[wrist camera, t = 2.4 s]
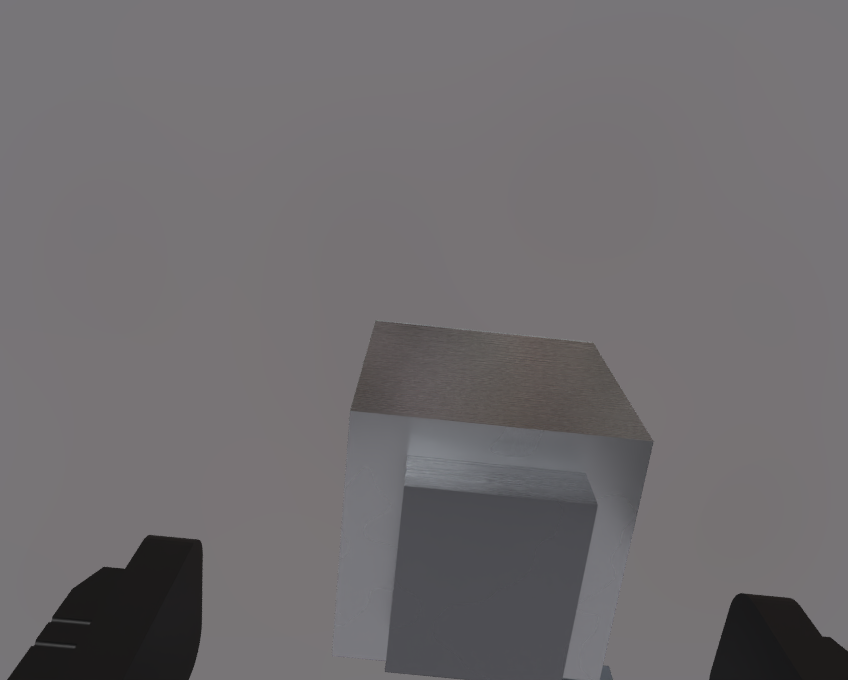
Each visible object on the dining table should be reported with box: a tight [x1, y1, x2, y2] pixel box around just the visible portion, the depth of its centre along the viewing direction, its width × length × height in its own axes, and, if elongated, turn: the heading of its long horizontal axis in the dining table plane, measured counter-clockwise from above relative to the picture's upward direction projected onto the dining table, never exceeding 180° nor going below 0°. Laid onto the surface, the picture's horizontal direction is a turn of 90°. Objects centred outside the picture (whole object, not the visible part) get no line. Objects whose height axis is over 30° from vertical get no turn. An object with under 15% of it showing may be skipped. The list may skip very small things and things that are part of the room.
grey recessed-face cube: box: [332, 320, 653, 680], centre depth 15 cm, size 5×5×6 cm
